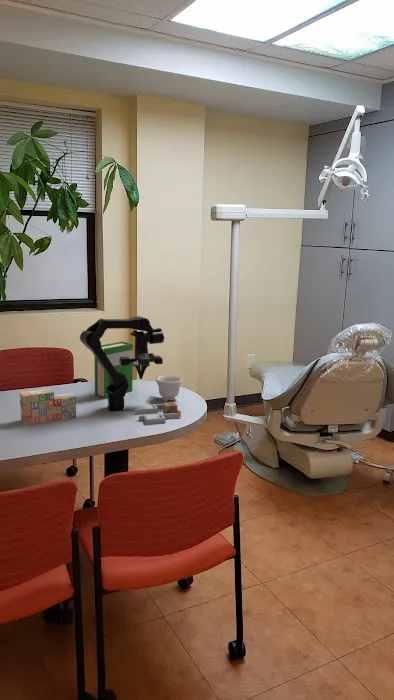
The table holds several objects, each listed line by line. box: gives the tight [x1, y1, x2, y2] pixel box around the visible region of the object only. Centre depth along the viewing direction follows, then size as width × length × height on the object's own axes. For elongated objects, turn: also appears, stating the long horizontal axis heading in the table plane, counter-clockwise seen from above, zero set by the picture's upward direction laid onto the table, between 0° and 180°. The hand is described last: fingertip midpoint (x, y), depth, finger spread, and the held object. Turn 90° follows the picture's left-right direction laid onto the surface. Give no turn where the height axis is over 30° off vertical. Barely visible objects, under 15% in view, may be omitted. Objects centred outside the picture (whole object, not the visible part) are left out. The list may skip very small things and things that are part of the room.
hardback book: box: [94, 340, 134, 400], centre depth 261 cm, size 18×7×24 cm, turn 141°
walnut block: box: [162, 401, 178, 414], centre depth 235 cm, size 5×5×5 cm
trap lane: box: [134, 403, 182, 425], centre depth 233 cm, size 18×19×3 cm
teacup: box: [155, 375, 183, 401], centre depth 257 cm, size 12×15×10 cm
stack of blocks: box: [19, 388, 77, 425], centre depth 224 cm, size 21×6×12 cm, turn 118°
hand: (140, 378), depth 245 cm, fingers closed
